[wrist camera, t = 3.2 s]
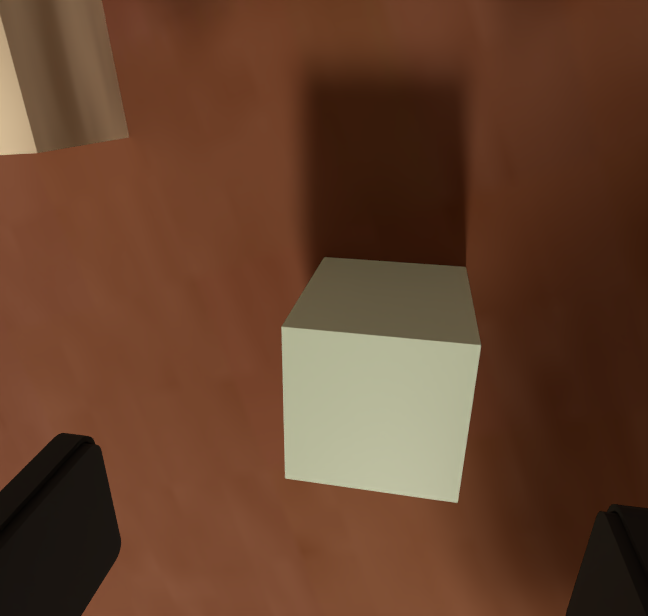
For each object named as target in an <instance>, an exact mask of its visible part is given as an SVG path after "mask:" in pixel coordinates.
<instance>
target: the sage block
mask: <svg viewBox="0 0 648 616" xmlns="http://www.w3.org/2000/svg"><path fill="white" fill-rule="evenodd" d="M480 350H481V342H480V337H479V332H478V327H477V321H476V316H475V311H474V306H473V301H472V296H471V291H470V286H469V280H468V275H467V270H466V267H461V266H446V265H432V264H417V263H403V262H389V261H374V260H360V259H345V258H331V257H324V258H323V260H322V261H321V263H320V265H319V266H318V268H317V270H316V271H315V273H314V274H313V276H312V278H311V279H310V281H309V283H308V284H307V286H306V288H305V289H304V291H303V292H302V294H301V296H300V297H299V299H298V301H297V302H296V304H295V306H294V307H293V309H292V310H291V312H290V314H289V315H288V317H287V319H286V320H285V322H284V324H283V325H282V365H283V405H284V446H285V478H287V479H294V480H301V481H308V482H315V483H322V484H329V485H336V486H343V487H350V488H357V489H364V490H371V491H378V492H385V493H392V494H399V495H406V496H413V497H420V498H427V499H434V500H441V501H448V502H455V503H458V497H459V490H460V484H461V477H462V470H463V463H464V457H465V450H466V443H467V437H468V430H469V423H470V417H471V410H472V403H473V396H474V390H475V383H476V376H477V370H478V363H479V356H480Z"/></svg>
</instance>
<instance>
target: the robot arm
mask: <svg viewBox="0 0 648 616" xmlns="http://www.w3.org/2000/svg"><path fill="white" fill-rule="evenodd" d="M120 547H121V538H120V533H119V529H118V524H117V520H116V515H115V510H114V506H113V501H112V497H111V492H110V488H109V483H108V479H107V474H106V469H105V465H104V460H103V456H102V451H101V448H100V447H99V446H98V445H95V442H94V440H93V439H92V438H91V437H89V436H83V435H76V434H68V433H61V434H58V435H57V436H56V437H54V438H53V439H52V440H51V441H50V442H49V443H48V444H47V445H46V446H45V447H44V448H43V449H42V450H41V451H40V452H39V453H38V454H37V455H36V456H35V457H34V458H33V459H32V460H31V461H30V462H29V463H28V464H27V465H26V466H25V467H24V468H23V469H22V470H21V471H20V472H19V473H18V474H17V475H16V476H15V477H14V478H13V479H12V480H11V481H10V482H9V483H8V484H7V485H6V486H5V487H4V488H3V489H2V490H1V491H0V616H81V615H82V613H83V612H84V610H85V609H86V607H87V605H88V604H89V602H90V601H91V599H92V597H93V596H94V594H95V593H96V591H97V589H98V588H99V586H100V585H101V583H102V581H103V580H104V578H105V577H106V575H107V573H108V572H109V570H110V569H111V567H112V565H113V564H114V562H115V561H116V559H117V557H118V554H119V551H120ZM566 616H648V508H640V507H632V506H624V505H617V504H612V505H611V506H610V507H609V509H608V511H607V512H603V511H600V512H599V513H598V514H597V516H596V519H595V523H594V526H593V529H592V532H591V535H590V538H589V542H588V545H587V548H586V551H585V554H584V558H583V561H582V564H581V567H580V570H579V573H578V577H577V580H576V583H575V586H574V589H573V593H572V596H571V599H570V602H569V605H568V608H567V612H566Z"/></svg>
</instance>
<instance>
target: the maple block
mask: <svg viewBox="0 0 648 616" xmlns="http://www.w3.org/2000/svg"><path fill="white" fill-rule="evenodd" d="M128 137H129V134H128V129H127V124H126V119H125V114H124V109H123V104H122V99H121V94H120V89H119V84H118V79H117V74H116V69H115V64H114V59H113V54H112V49H111V44H110V40H109V35H108V30H107V25H106V20H105V15H104V10H103V5H102V0H0V155H8V154H27V153H40V152H46V151H52V150H57V149H63V148H69V147H75V146H81V145H87V144H93V143H98V142H104V141H110V140H116V139H122V138H128Z"/></svg>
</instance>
